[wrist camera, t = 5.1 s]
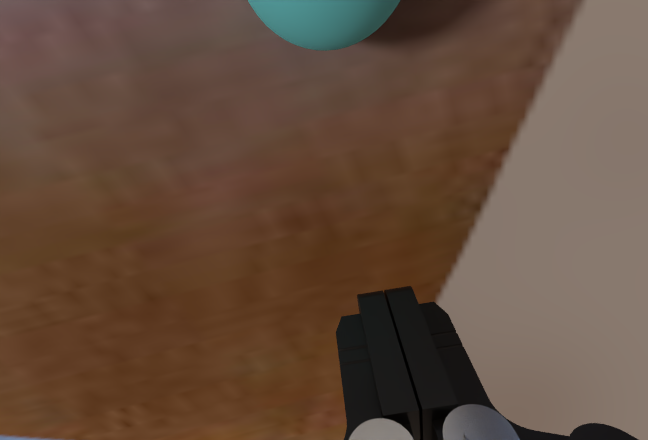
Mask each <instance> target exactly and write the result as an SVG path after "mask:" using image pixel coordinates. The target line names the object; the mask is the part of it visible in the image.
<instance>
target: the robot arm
mask: <svg viewBox="0 0 648 440" xmlns="http://www.w3.org/2000/svg"><path fill="white" fill-rule="evenodd" d="M357 298H358V306H359V313H360V314H355V315H349V316H343V317H341V320H340V323H339V325H338V328H337V331H336V337H337V345H338V353H339V361H340V369H341V378H342V386H343V394H344V402H345V410H346V418H347V430H346V435H345V438H344V440H638V439H636V438H635V437H633V436H631V435H629V434H628V433H626V432H624V431H622V430H620V429H617V428H614V427H612V426H609V425H605V424H597V423H589V424H584V425H581V426H579V427H577V428H576V429H574V430H573V432H572V433H571V434H570V436H564V435H558V434H551V433H545V432H540V431H534V430H530V429H526V428H524V427H521V426H519V425H516V424H515V423H513V422H511V421H509V420H508V419H506V418H505V417H504V416H502V415H501V414H500V413H499V412H498V411H497V410H496V409H495V407H494V406H493V405H492V404H491V402H490V400H489V399H488V396H487V394H486V392H485V390H484V388H483V386H482V384H481V382H480V380H479V378H478V376H477V374H476V371H475V369H474V368H473V365H472V363H471V361H470V359H469V357H468V355H467V353H466V351H465V349H464V347H463V346H462V343H461V340H460V338H459V336H458V334H457V333H456V330H455V328H454V326H453V324H452V322H451V320H450V317H449V315H448V314H447V313H446V312H445V311H444V310H443V309H441V308H440V307H439V306H438V305H437V304H436V303H435V302H429V303H423V304H418V302H417V299H416V297H415V294H414V292H413V289H412V287H411V286H407V287H401V288H395V289H389V290H384V292H383V291H377V292H371V293H365V294H358V295H357Z"/></svg>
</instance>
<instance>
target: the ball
mask: <svg viewBox="0 0 648 440" xmlns="http://www.w3.org/2000/svg"><path fill="white" fill-rule="evenodd" d="M248 1H249V3H250V5H251V7H252V8H253V10H254V11H255V12H256V14H257V15H258V17H259V18H260V19H261V20H262V21H263V22H264V23H265V24H266V26H268V27H269V28H270V29H271V30H272V31H273V32H274V33H276V34H277V35H279V36H280V37H282V38H283V39H285V40H286V41H288V42H290V43H293V44H295V45H297V46H300V47H303V48H307V49H313V50H326V51H327V50H336V49H341V48H345V47H348V46H351V45H353V44H356V43H358V42H360V41H362V40H363V39H365V38H367V37H368V36H370V35H371V34H372V33H374V32H375V31H376V30H377V29H378V28H379V27H380V26H381V25H382V24H383V23H385V21H386V20H387V19H388V18H389V16H390V15H391V14H392V13H393V11H394V10H395V8H396V7H397V5H398V3H399V2H400V0H248Z"/></svg>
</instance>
